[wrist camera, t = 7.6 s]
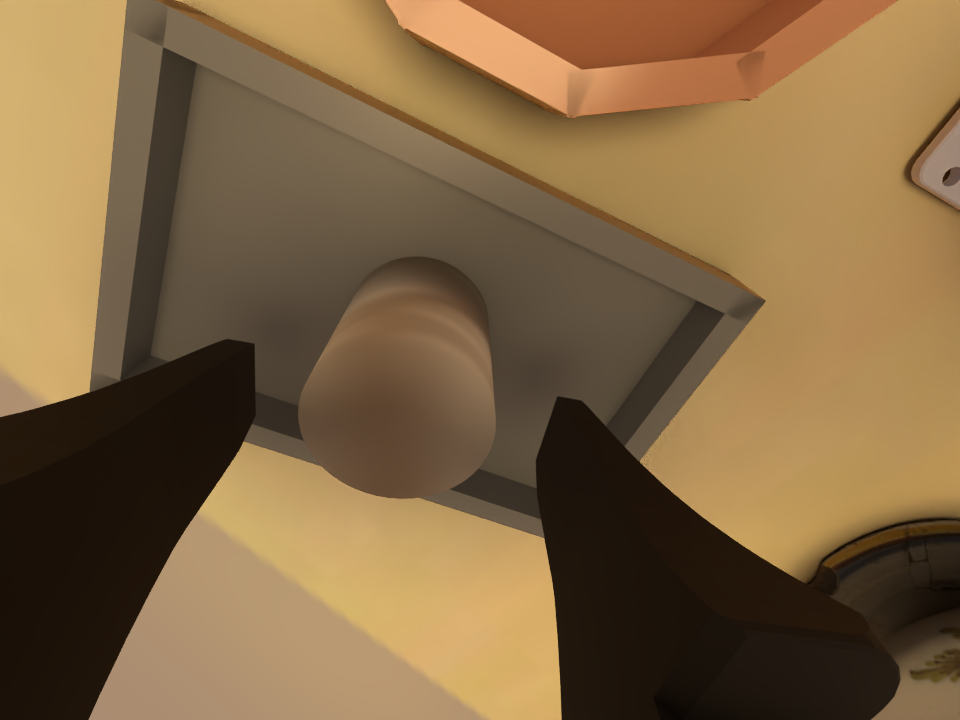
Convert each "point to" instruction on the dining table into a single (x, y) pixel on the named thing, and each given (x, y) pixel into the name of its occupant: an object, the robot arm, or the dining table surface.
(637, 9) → the orange shallow faceted dish
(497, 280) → the charcoal tray
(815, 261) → the dining table surface
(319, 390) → the taupe rounded cylinder
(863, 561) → the apothecary jar
